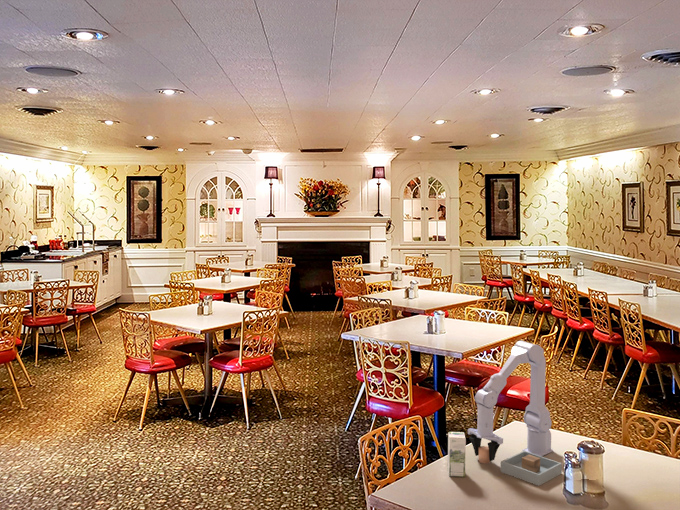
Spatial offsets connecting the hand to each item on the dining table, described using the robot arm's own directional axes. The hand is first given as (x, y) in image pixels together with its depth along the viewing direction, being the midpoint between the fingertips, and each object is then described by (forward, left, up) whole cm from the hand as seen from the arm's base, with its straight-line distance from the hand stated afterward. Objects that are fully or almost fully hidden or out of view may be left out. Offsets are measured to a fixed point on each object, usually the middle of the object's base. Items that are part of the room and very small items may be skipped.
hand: (484, 457), depth 226 cm
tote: (-4, +17, -1) cm, 18 cm away
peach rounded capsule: (0, 0, -2) cm, 2 cm away
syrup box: (+17, 0, -2) cm, 17 cm away
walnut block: (-4, +17, -1) cm, 17 cm away
